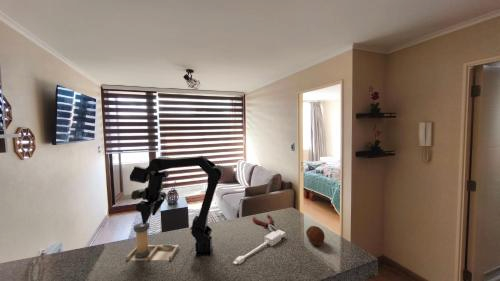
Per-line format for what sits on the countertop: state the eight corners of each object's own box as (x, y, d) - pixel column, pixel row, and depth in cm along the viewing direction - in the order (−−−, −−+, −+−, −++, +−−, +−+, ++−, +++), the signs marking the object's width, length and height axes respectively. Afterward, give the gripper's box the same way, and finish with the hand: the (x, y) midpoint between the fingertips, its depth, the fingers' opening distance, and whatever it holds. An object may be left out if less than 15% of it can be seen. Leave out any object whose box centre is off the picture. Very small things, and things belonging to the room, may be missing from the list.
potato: (315, 235, 112) (315, 220, 111) (330, 247, 101) (330, 230, 100) (302, 237, 110) (302, 222, 109) (315, 250, 99) (315, 232, 98)
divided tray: (178, 250, 100) (178, 244, 100) (171, 262, 91) (171, 255, 91) (137, 250, 100) (137, 244, 100) (126, 262, 91) (125, 255, 91)
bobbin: (152, 250, 98) (151, 222, 97) (146, 258, 92) (144, 228, 91) (139, 250, 98) (138, 222, 98) (132, 258, 92) (130, 228, 92)
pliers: (265, 236, 113) (265, 231, 113) (251, 220, 132) (251, 216, 132) (285, 232, 117) (285, 227, 116) (269, 218, 136) (269, 213, 135)
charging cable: (230, 264, 91) (230, 257, 91) (278, 233, 114) (277, 227, 114) (238, 270, 87) (238, 262, 87) (286, 237, 110) (285, 230, 110)
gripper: (146, 177, 106) (140, 208, 106) (125, 187, 87) (118, 225, 88) (169, 181, 106) (163, 212, 107) (153, 192, 87) (146, 230, 88)
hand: (148, 219), depth 97 cm, fingers open, 9 cm apart
